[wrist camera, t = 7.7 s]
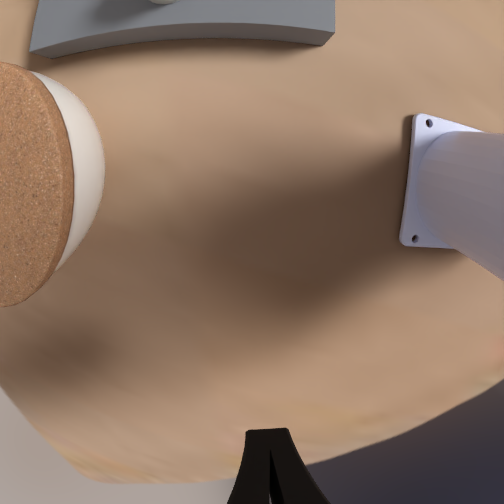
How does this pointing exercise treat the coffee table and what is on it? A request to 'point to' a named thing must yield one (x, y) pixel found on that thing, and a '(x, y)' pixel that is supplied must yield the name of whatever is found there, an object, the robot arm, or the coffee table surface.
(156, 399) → the coffee table surface
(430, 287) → the coffee table surface
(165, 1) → the potentiometer
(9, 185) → the lidded jar
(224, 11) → the mount plate
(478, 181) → the robot arm
